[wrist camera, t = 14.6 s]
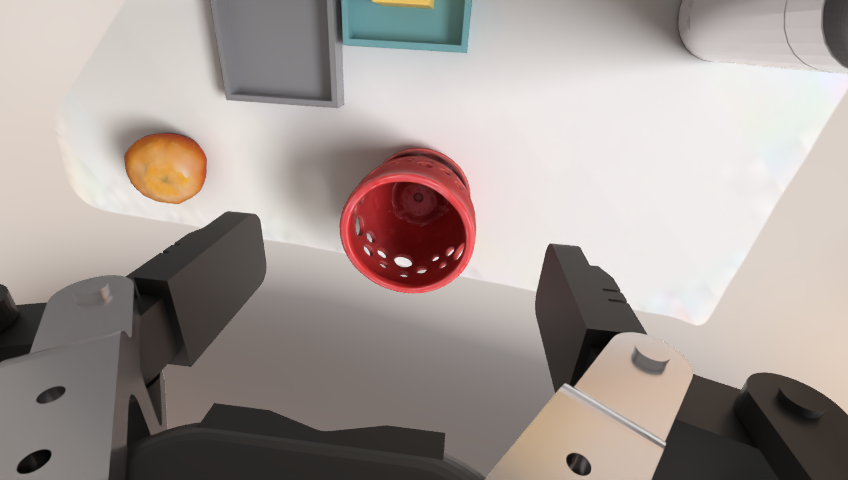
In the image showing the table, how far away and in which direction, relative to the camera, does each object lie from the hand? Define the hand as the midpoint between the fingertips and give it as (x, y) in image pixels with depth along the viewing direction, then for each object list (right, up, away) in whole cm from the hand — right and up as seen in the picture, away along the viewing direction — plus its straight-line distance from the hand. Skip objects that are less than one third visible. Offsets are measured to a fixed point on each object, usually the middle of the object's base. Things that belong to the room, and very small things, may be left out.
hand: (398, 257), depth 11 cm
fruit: (-28, +10, +38) cm, 49 cm away
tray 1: (-14, +21, +31) cm, 40 cm away
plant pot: (0, +6, +37) cm, 38 cm away
